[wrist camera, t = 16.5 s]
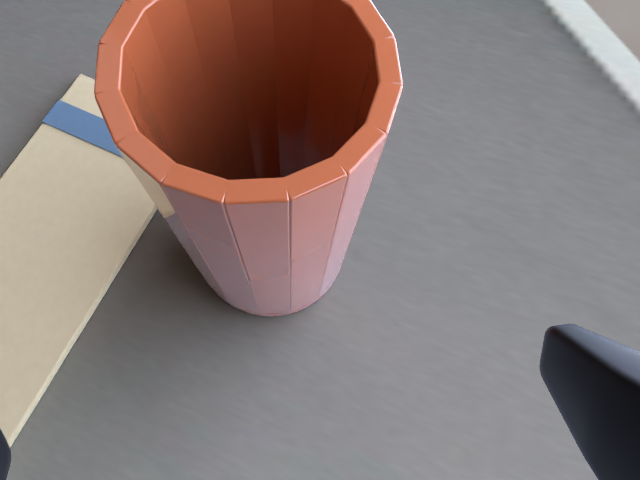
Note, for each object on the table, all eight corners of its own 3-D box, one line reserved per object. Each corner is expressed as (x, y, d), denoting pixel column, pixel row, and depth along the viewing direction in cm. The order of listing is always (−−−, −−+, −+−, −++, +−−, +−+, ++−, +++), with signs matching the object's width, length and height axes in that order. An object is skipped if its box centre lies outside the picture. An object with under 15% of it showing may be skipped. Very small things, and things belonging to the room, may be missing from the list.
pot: (277, 348, 21) (259, 270, 9) (169, 251, 22) (27, 69, 10) (371, 240, 23) (460, 58, 11) (268, 156, 24) (245, -91, 12)
